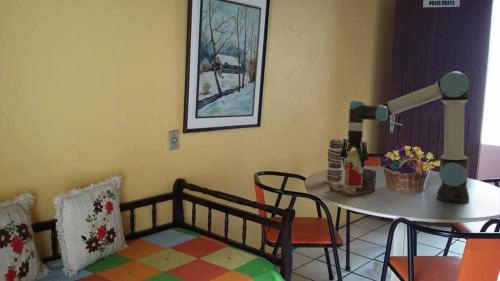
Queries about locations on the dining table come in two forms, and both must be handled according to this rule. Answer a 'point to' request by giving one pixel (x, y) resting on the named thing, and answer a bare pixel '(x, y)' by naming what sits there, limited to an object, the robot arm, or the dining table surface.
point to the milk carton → (353, 170)
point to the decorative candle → (335, 161)
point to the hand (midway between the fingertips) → (352, 171)
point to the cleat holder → (367, 187)
